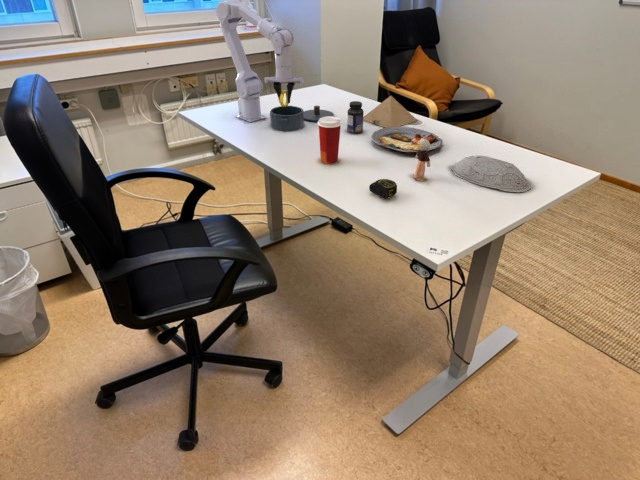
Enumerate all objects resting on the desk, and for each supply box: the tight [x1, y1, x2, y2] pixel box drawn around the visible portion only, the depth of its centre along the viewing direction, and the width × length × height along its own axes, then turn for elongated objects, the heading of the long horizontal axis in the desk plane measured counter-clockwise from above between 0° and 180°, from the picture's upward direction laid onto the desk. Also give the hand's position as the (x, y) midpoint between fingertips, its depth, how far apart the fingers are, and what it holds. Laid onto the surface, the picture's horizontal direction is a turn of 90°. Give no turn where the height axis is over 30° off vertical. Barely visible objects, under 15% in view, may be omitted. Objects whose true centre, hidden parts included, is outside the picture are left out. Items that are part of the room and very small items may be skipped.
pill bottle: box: [346, 100, 364, 135], centre depth 170 cm, size 6×6×11 cm
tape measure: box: [368, 178, 398, 200], centre depth 127 cm, size 7×7×4 cm
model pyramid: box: [363, 95, 418, 128], centre depth 182 cm, size 17×17×10 cm
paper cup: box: [317, 116, 342, 165], centre depth 145 cm, size 8×8×14 cm
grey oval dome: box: [450, 154, 532, 193], centre depth 137 cm, size 16×25×7 cm, turn 44°
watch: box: [279, 89, 290, 107], centre depth 172 cm, size 6×3×6 cm, turn 158°
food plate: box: [370, 126, 443, 154], centre depth 161 cm, size 25×23×4 cm
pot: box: [269, 105, 305, 132], centre depth 177 cm, size 13×18×6 cm
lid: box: [303, 105, 335, 122], centre depth 187 cm, size 14×14×4 cm
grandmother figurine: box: [411, 139, 431, 182], centre depth 134 cm, size 8×4×13 cm, turn 29°
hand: (284, 102), depth 173 cm, fingers closed on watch, 2 cm apart
